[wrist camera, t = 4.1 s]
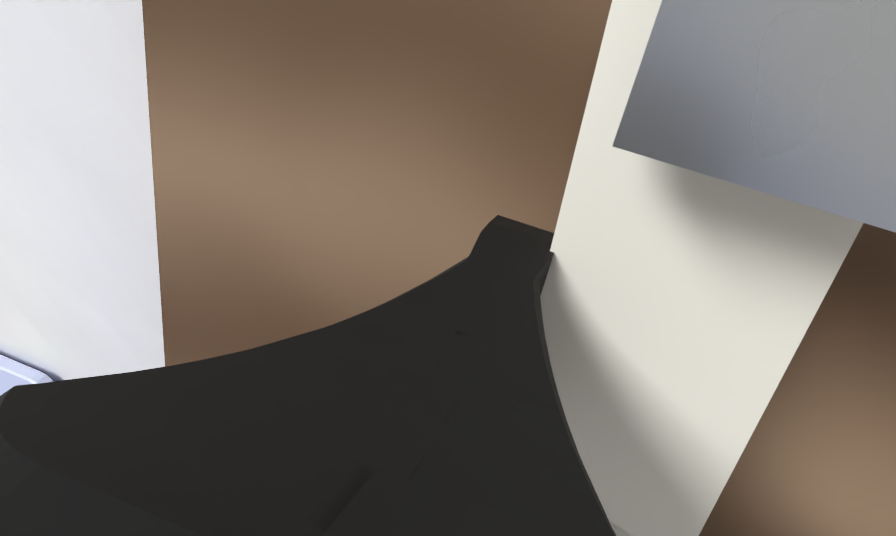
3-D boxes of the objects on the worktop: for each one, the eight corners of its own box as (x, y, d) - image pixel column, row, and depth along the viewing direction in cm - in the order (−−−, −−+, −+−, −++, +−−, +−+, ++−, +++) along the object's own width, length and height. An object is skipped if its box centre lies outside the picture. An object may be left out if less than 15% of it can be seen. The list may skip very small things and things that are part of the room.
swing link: (651, 591, 14) (633, 769, 11) (473, 525, 14) (417, 677, 12) (1163, -427, 6) (1537, -658, 3) (709, -458, 6) (697, -667, 4)
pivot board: (780, 641, 15) (783, 688, 14) (195, 400, 17) (169, 428, 16) (2280, -1089, 4) (2683, -1327, 3) (149, -1076, 6) (66, -1210, 6)
